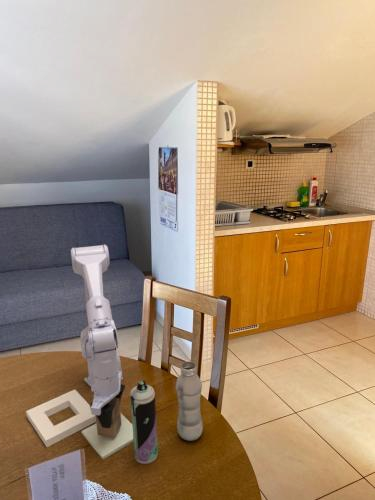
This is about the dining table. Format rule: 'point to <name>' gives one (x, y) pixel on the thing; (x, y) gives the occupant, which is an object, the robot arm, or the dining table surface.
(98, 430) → the walnut block
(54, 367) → the dining table surface
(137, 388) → the spray can
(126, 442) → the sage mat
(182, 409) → the plastic bottle
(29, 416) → the socket board
